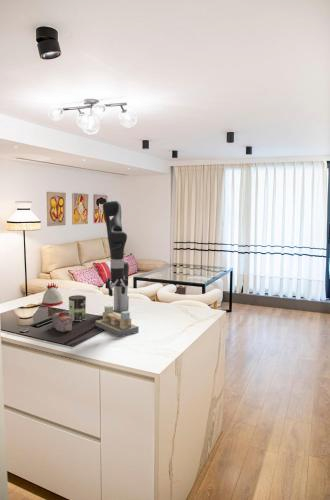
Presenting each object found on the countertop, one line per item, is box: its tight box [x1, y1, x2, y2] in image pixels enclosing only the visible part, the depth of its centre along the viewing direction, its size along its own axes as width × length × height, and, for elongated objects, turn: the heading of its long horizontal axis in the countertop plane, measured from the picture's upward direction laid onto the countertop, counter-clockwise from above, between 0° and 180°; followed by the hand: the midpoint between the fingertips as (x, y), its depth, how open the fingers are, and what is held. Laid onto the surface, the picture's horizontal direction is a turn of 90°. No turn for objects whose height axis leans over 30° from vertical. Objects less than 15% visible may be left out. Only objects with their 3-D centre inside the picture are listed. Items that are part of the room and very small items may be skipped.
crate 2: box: [120, 310, 131, 320], centre depth 205 cm, size 4×4×4 cm
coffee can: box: [68, 294, 87, 322], centre depth 227 cm, size 10×10×14 cm
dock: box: [95, 318, 140, 337], centre depth 211 cm, size 13×24×3 cm, turn 43°
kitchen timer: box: [41, 282, 63, 307], centre depth 263 cm, size 14×14×15 cm
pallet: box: [102, 311, 132, 329], centre depth 211 cm, size 6×20×5 cm, turn 43°
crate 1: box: [104, 304, 114, 313], centre depth 216 cm, size 4×4×4 cm
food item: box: [51, 311, 73, 333], centre depth 207 cm, size 14×8×10 cm, turn 45°
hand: (116, 294), depth 209 cm, fingers open, 8 cm apart
